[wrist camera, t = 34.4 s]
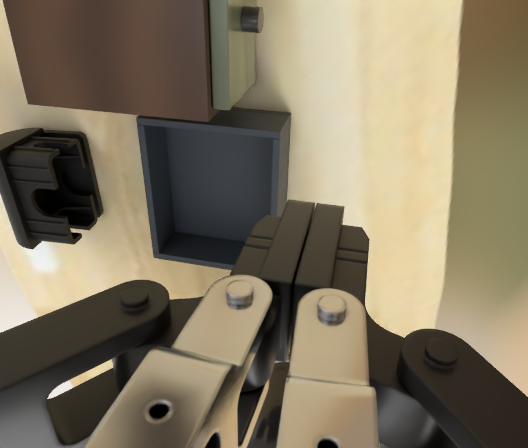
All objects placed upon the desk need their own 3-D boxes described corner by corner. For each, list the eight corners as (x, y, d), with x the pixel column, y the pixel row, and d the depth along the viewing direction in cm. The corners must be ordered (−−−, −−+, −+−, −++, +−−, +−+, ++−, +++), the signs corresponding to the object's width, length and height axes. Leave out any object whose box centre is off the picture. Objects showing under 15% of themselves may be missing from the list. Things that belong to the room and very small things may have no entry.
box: (284, 249, 46) (274, 277, 42) (172, 232, 48) (153, 258, 45) (291, 112, 39) (280, 131, 35) (159, 100, 41) (135, 117, 37)
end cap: (19, 123, 46) (-33, 149, 40) (85, 127, 44) (40, 154, 39) (46, 212, 51) (3, 247, 45) (105, 219, 49) (69, 255, 44)
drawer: (274, -71, 32) (247, -73, 26) (270, 84, 37) (246, 112, 31) (91, -74, 35) (27, -77, 28) (112, 71, 40) (62, 95, 34)
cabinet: (243, -81, 33) (199, -87, 25) (244, 86, 39) (208, 122, 31) (68, -84, 35) (-20, -90, 28) (94, 74, 41) (27, 104, 34)
